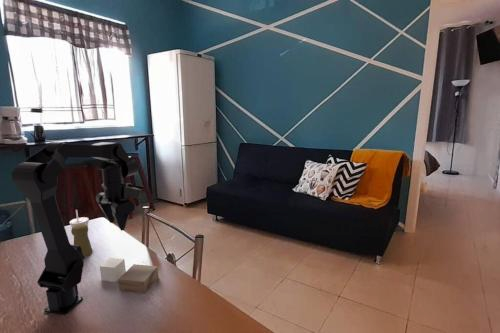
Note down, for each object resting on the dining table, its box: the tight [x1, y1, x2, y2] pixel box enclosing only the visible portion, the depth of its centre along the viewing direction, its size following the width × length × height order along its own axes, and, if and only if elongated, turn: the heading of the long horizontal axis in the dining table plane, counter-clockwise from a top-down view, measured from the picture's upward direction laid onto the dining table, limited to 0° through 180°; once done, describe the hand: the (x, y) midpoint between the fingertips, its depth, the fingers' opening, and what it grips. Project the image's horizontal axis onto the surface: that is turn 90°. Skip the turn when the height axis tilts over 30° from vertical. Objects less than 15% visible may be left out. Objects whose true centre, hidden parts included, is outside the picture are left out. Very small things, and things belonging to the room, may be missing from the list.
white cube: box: [99, 257, 127, 283], centre depth 89 cm, size 5×5×5 cm
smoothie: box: [69, 209, 90, 236], centre depth 109 cm, size 6×6×14 cm
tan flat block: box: [117, 263, 159, 294], centre depth 85 cm, size 8×8×4 cm
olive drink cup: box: [70, 224, 94, 258], centre depth 102 cm, size 6×6×11 cm
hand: (117, 226), depth 95 cm, fingers open, 9 cm apart
